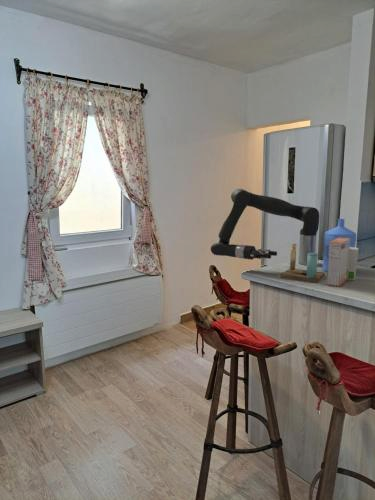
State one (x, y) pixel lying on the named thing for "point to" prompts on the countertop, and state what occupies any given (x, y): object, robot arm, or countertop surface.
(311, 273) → the teal cylinder
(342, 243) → the cracker box
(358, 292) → the countertop surface
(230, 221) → the robot arm
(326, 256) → the water jug
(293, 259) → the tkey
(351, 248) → the skincare box
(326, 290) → the countertop surface
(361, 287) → the countertop surface
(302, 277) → the brown wooden board
